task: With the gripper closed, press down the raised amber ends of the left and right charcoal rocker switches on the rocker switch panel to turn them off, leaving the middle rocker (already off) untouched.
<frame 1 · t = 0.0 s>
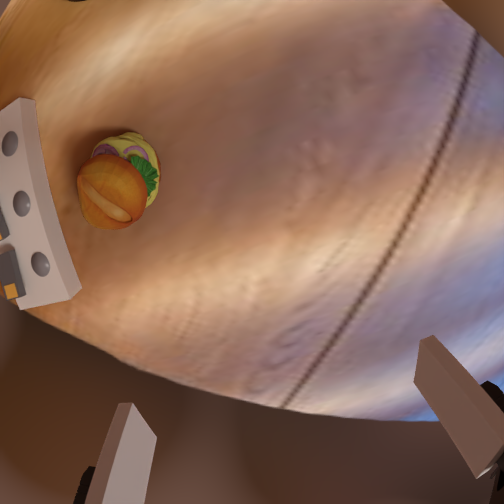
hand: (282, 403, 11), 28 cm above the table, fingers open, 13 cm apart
cheeseburger: (130, 177, 35), on the table
rocker switch panel: (24, 205, 34), on the table
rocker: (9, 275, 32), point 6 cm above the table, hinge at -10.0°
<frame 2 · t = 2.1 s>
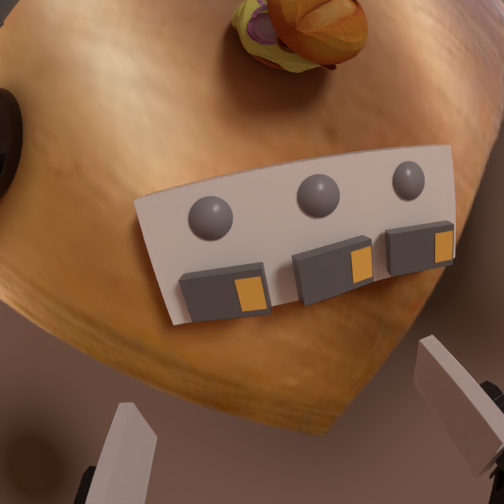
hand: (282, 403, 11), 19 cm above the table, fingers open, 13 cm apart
cheeseburger: (290, 34, 23), on the table
rocker switch panel: (312, 220, 28), on the table
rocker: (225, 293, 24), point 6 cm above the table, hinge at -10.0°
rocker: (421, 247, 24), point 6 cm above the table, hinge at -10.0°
rocker middle: (335, 269, 24), point 6 cm above the table, hinge at 10.0°
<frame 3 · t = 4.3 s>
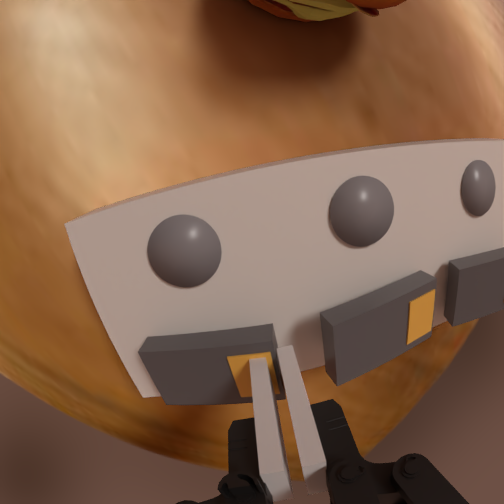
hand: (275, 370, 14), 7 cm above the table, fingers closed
rocker switch panel: (341, 244, 19), on the table
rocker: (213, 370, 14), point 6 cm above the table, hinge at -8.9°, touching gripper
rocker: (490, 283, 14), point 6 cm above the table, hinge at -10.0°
rocker middle: (384, 327, 14), point 6 cm above the table, hinge at 10.0°
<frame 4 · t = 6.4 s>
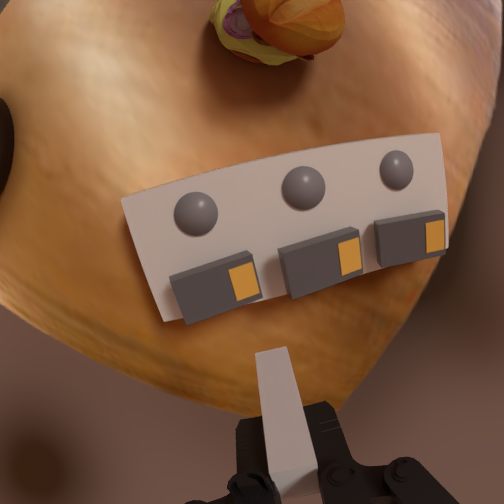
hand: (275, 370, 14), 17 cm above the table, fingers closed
cheeseburger: (270, 28, 22), on the table
rocker switch panel: (300, 213, 28), on the table
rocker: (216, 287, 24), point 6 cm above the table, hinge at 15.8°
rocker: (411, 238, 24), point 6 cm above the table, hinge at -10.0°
rocker middle: (323, 262, 24), point 6 cm above the table, hinge at 10.0°
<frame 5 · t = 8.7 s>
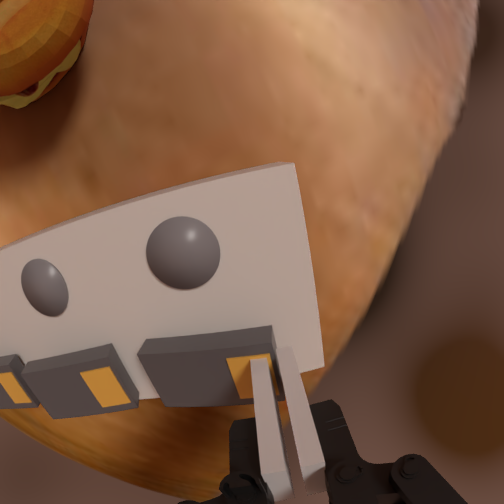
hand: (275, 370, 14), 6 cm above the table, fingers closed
cheeseburger: (48, 46, 13), on the table
rocker switch panel: (88, 302, 19), on the table
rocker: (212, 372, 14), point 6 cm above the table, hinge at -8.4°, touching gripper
rocker middle: (78, 386, 14), point 6 cm above the table, hinge at 10.0°
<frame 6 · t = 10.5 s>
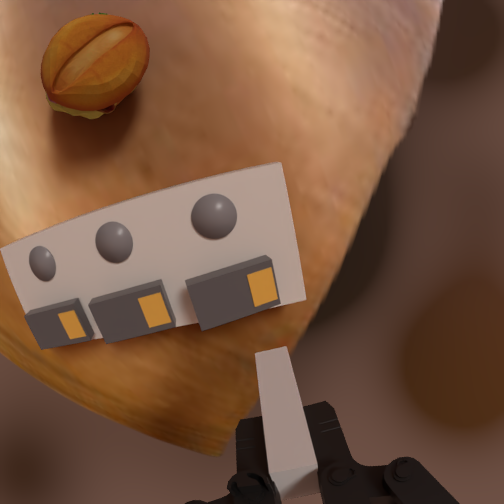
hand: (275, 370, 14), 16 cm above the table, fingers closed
cheeseburger: (107, 73, 22), on the table
rocker switch panel: (138, 259, 28), on the table
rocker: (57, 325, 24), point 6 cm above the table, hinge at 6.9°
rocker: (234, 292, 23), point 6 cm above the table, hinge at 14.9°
rocker middle: (132, 313, 23), point 6 cm above the table, hinge at 10.0°
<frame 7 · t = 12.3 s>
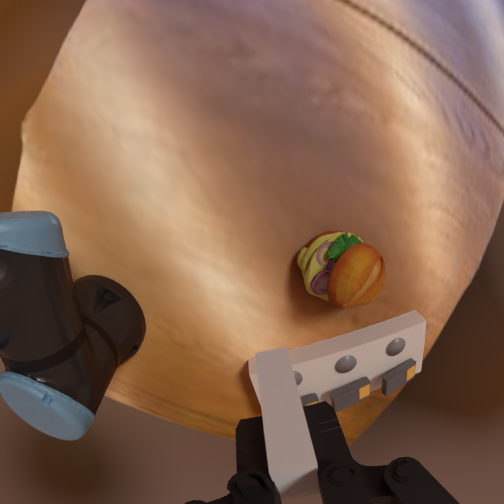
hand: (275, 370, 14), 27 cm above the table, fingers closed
cheeseburger: (333, 259, 42), on the table
rocker switch panel: (340, 362, 47), on the table
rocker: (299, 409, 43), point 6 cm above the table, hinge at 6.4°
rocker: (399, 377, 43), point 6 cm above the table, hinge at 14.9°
rocker middle: (351, 394, 43), point 6 cm above the table, hinge at 10.0°
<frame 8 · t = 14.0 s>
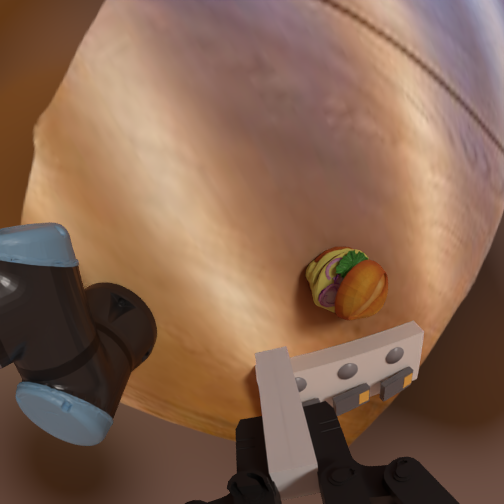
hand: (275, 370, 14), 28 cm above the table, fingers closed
cheeseburger: (339, 273, 44), on the table
rocker switch panel: (341, 369, 49), on the table
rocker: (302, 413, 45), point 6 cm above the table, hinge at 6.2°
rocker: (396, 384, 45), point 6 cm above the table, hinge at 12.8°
rocker middle: (351, 399, 45), point 6 cm above the table, hinge at 10.0°
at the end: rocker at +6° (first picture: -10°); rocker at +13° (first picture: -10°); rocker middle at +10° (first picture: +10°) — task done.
